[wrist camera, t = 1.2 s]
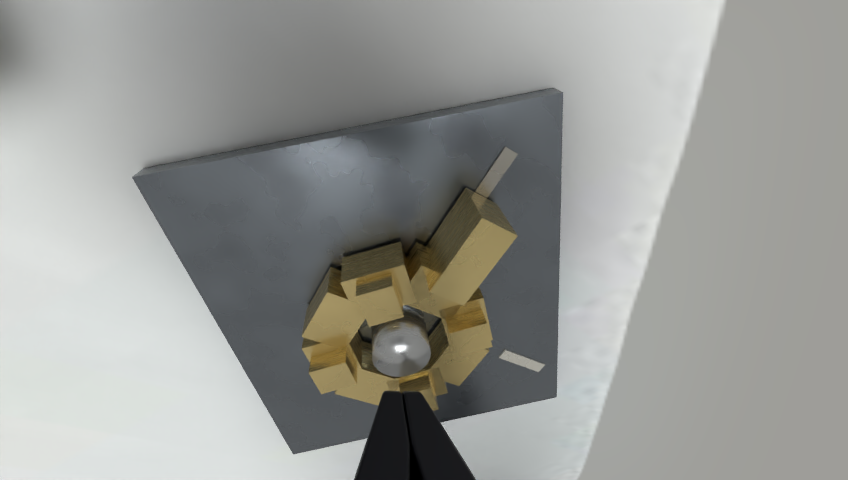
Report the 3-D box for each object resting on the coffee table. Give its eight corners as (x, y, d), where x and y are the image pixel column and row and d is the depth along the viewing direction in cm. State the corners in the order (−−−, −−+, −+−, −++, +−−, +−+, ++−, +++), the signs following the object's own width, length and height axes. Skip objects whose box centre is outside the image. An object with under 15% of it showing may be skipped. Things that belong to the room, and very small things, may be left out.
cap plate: (550, 385, 28) (576, 438, 25) (295, 440, 28) (285, 502, 24) (553, 88, 18) (598, 109, 14) (143, 168, 17) (89, 210, 14)
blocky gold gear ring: (426, 390, 25) (433, 435, 22) (284, 348, 22) (273, 395, 19) (553, 233, 20) (581, 267, 18) (395, 150, 17) (401, 177, 14)
